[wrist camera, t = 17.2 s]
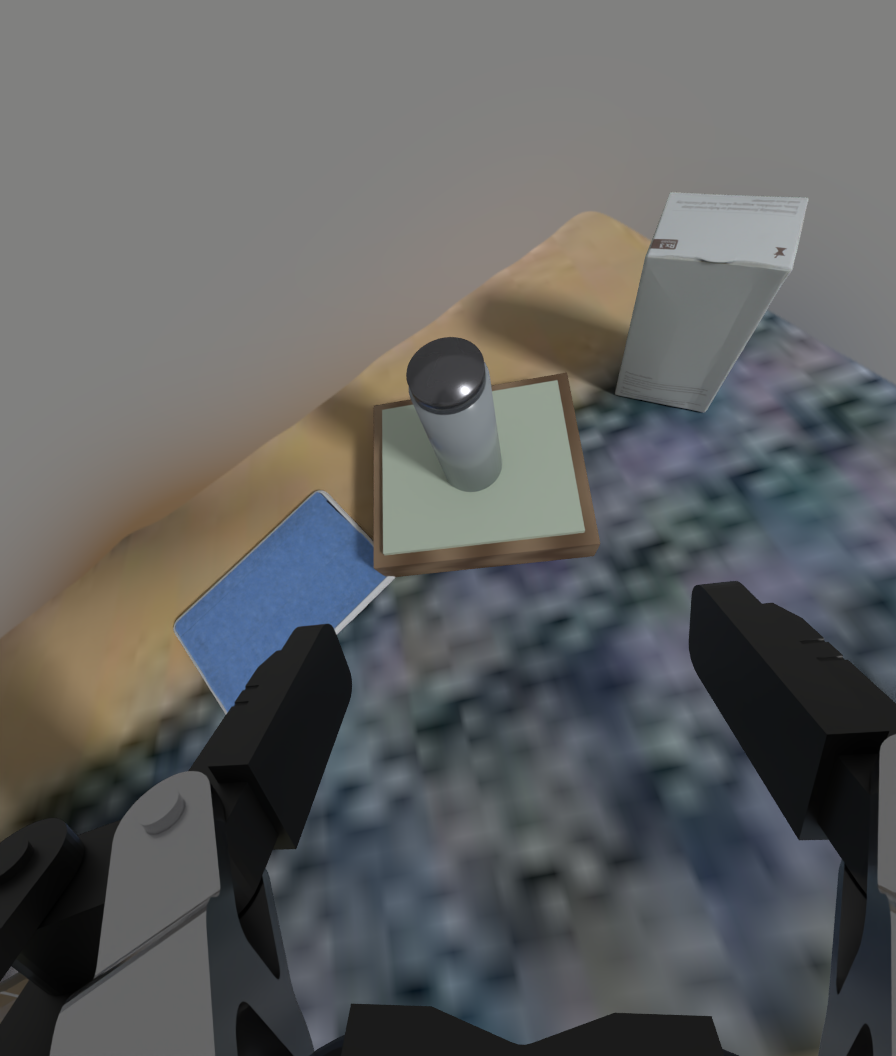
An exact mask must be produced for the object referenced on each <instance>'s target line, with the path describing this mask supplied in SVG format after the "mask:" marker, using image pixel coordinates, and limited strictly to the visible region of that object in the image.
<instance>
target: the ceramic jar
mask: <svg viewBox="0 0 896 1056" xmlns="http://www.w3.org/2000/svg"><path fill="white" fill-rule="evenodd" d="M406 377H407V383H408V385H409V395H410V398H411V401H412V403H413V405H414V407H415V410H416V412H417V414H418V416H419V418H420V421H421V423H422V425H423V427H424V430H425V432H426V434H427V436H428V439H429V441H430V443H431V445H432V448H433V450H434V452H435V454H436V457H437V459H438V461H439V463H440V466H441V468H442V470H443V472H444V475H445V477H446V479H447V480H448V482H449V483H450V484H451V485H452V486H453V487H455V488H456V489H458V490H461V491H465V492H476V491H481V490H483V489H486V488H487V487H489V486H490V485H492V484H493V483H494V482H495V481H496V480H497V478H498V477H499V475H500V473H501V469H502V456H501V449H500V443H499V436H498V429H497V422H496V416H495V409H494V402H493V396H492V389H491V382H490V375H489V371H488V368H487V366H486V364H485V362H484V360H483V356H482V354H481V352H480V350H479V349H478V348H477V347H476V346H475V345H474V344H473V343H471V342H469V341H467V340H465V339H462V338H456V337H447V338H441V339H437V340H434V341H432V342H430V343H428V344H426V345H424V346H423V347H422V348H420V349H419V350H418V351H417V352H416V353H415V354H414V356H413V357H412V359H411V360H410V362H409V365H408V368H407V374H406Z"/></svg>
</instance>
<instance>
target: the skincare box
mask: <svg viewBox="0 0 896 1056" xmlns="http://www.w3.org/2000/svg"><path fill="white" fill-rule="evenodd" d="M807 203H808V198H799V197H768V196H766V197H765V196H739V195H716V194H693V193H678V192H671V193H670V195H669V198H668V200H667V203H666V205H665V208H664V210H663V213H662V215H661V218H660V221H659V223H658V226H657V228H656V231H655V234H654V236H653V239H652V241H651V244H650V246H649V249H648V252H647V254H646V257H645V261H644V265H643V270H642V274H641V279H640V283H639V288H638V292H637V297H636V301H635V306H634V310H633V314H632V319H631V323H630V328H629V332H628V337H627V341H626V346H625V350H624V355H623V359H622V364H621V368H620V372H619V377H618V381H617V386H616V390H615V395H619V396H624V397H629V398H634V399H639V400H644V401H649V402H654V403H659V404H664V405H668V406H673V407H679V408H684V409H689V410H694V411H698V412H705V411H706V410H707V409H708V407H709V406H710V404H711V402H712V400H713V399H714V397H715V395H716V394H717V392H718V390H719V389H720V387H721V385H722V384H723V382H724V380H725V379H726V377H727V375H728V373H729V372H730V370H731V368H732V367H733V365H734V363H735V362H736V360H737V359H738V357H739V355H740V354H741V352H742V350H743V349H744V347H745V345H746V344H747V342H748V340H749V339H750V337H751V335H752V334H753V332H754V330H755V329H756V327H757V325H758V324H759V322H760V320H761V319H762V317H763V315H764V314H765V312H766V310H767V309H768V307H769V305H770V304H771V302H772V300H773V299H774V297H775V295H776V293H777V292H778V290H779V289H780V287H781V286H782V284H783V282H784V281H785V279H786V278H787V277H788V275H789V274H790V273H791V271H792V269H793V264H794V260H795V256H796V252H797V248H798V243H799V239H800V235H801V230H802V226H803V221H804V216H805V212H806V207H807Z"/></svg>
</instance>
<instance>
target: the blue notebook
mask: <svg viewBox="0 0 896 1056" xmlns="http://www.w3.org/2000/svg"><path fill="white" fill-rule="evenodd" d="M394 578H395V577H394V576H387V577H385V576H384V575H382V574H381V573H379V572H378V571H377V570H375V569H374V541H373V540H372V539H371V538H370V537H369V536H368V535H367V534H366V532H365V531H364V530H363V529H362V528H361V527H360V526H359V525H358V524H357V523H356V522H355V521H354V520H353V519H352V518H351V517H350V516H349V515H348V514H347V513H346V512H345V511H344V510H343V509H342V508H341V506H340V505H339V504H338V503H337V502H336V501H335V500H334V499H333V498H332V497H331V496H330V495H329V494H328V493H327V492H325V491H323V490H318V491H316V492H314V493H313V494H312V495H310V496H309V497H308V498H307V499H306V500H305V501H304V502H303V503H302V504H301V505H300V506H299V507H298V508H297V509H296V510H295V511H293V512H292V513H291V514H290V515H289V516H288V517H287V518H286V519H285V520H284V521H283V522H282V523H281V524H280V525H279V526H278V527H276V528H275V529H274V530H273V531H272V532H271V533H270V534H269V535H268V536H267V537H266V538H265V539H264V540H262V541H261V542H260V543H259V544H258V545H257V546H256V547H255V548H254V549H253V550H252V551H251V552H250V553H248V554H247V555H246V556H245V557H244V558H243V559H242V560H241V561H240V562H239V563H238V564H237V565H236V566H234V567H233V568H232V569H231V570H230V571H229V572H228V573H227V574H226V575H225V576H224V577H223V578H221V579H220V580H219V581H218V582H217V583H216V584H215V585H214V586H213V587H212V588H211V589H210V590H208V591H207V592H206V593H205V594H204V595H203V596H202V597H201V598H200V599H199V600H198V601H197V602H196V603H195V604H193V605H192V606H191V607H190V608H189V609H188V610H187V611H186V612H185V613H184V614H183V615H182V616H180V617H179V618H178V619H177V620H176V622H175V624H174V633H175V635H176V636H177V638H178V639H179V641H180V642H181V644H182V646H183V647H184V649H185V650H186V652H187V653H188V655H189V657H190V658H191V660H192V661H193V663H194V665H195V666H196V668H197V669H198V671H199V672H200V674H201V676H202V677H203V679H204V680H205V682H206V684H207V685H208V687H209V688H210V690H211V692H212V693H213V695H214V696H215V698H216V700H217V701H218V703H219V704H220V706H221V708H222V709H223V711H224V712H225V714H227V713H228V711H229V710H230V708H231V707H232V706H234V705H235V703H234V702H235V701H236V699H237V698H238V696H239V695H240V693H241V692H242V690H245V686H246V684H247V683H248V681H249V680H250V678H251V677H252V675H253V674H254V672H255V671H256V669H257V668H258V667H259V666H260V665H261V664H262V663H263V662H264V661H265V660H267V659H268V658H269V657H270V656H271V655H272V654H273V653H274V652H275V651H278V650H282V648H283V646H284V645H285V643H286V642H287V640H288V638H289V637H290V635H291V634H292V632H293V631H294V629H295V628H297V627H300V626H309V625H319V624H330V625H332V626H333V628H334V630H335V632H336V635H337V634H338V633H339V632H340V631H341V630H342V629H343V628H344V627H345V626H346V625H347V624H348V623H349V622H350V621H352V620H353V619H354V618H355V617H356V616H357V615H358V614H359V613H360V612H361V611H362V610H363V609H364V608H365V607H366V606H367V605H368V604H369V603H370V602H371V601H372V600H373V599H374V598H375V597H376V596H377V595H378V594H379V593H380V592H381V591H382V590H383V589H384V588H385V587H386V586H387V585H388V584H389V583H390V582H391V581H392V580H393V579H394Z"/></svg>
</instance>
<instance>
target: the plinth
mask: <svg viewBox="0 0 896 1056" xmlns="http://www.w3.org/2000/svg"><path fill="white" fill-rule="evenodd" d="M491 389H492V396H493V402H494V409H495V416H496V422H497V429H498V436H499V443H500V449H501V456H502V469H501V473H500V475H499V477H498V478H497V480H496V481H495V482H494V483H493V484H492V485H490V486H489V487H487V488H486V489H483V490H481V491H476V492H465V491H461V490H458V489H456V488H455V487H453V486H452V485H451V484H450V483H449V482H448V480H447V479H446V477H445V475H444V472H443V470H442V468H441V466H440V463H439V461H438V459H437V457H436V454H435V452H434V450H433V448H432V445H431V443H430V441H429V439H428V436H427V434H426V432H425V430H424V427H423V425H422V423H421V421H420V418H419V416H418V414H417V412H416V410H415V407H414V405H413V403H412V401H411V400H405V401H399V402H394V403H388V404H382V405H376V406H374V569H375V570H377V571H378V572H379V573H381V574H382V575H384V576H385V577H387V576H394V577H400V576H409V575H419V574H428V573H438V572H447V571H456V570H466V569H475V568H485V567H494V566H504V565H513V564H523V563H532V562H542V561H551V560H561V559H570V558H580V557H589V556H594V555H595V553H596V551H597V549H598V547H599V545H600V540H599V535H598V530H597V525H596V520H595V514H594V509H593V504H592V499H591V494H590V489H589V484H588V478H587V473H586V468H585V463H584V458H583V453H582V448H581V442H580V437H579V432H578V427H577V422H576V417H575V411H574V406H573V401H572V396H571V391H570V386H569V381H568V375H567V373H562V374H556V375H551V376H545V377H539V378H533V379H527V380H521V381H516V382H510V383H504V384H498V385H492V386H491Z"/></svg>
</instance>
